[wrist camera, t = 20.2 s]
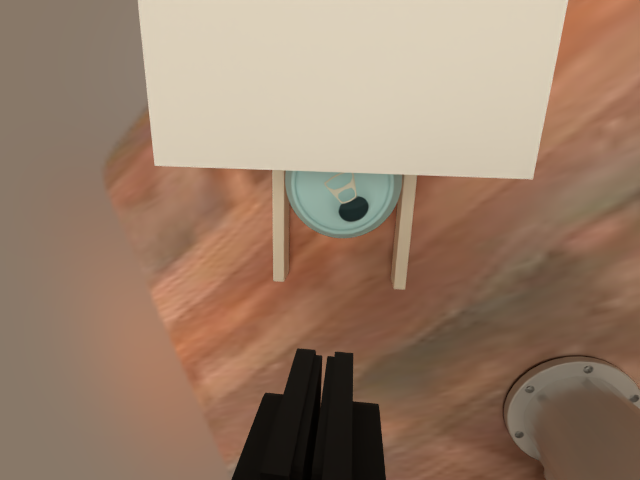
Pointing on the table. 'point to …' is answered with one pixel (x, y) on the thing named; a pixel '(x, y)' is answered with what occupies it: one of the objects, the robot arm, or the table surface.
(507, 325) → the table surface
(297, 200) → the can
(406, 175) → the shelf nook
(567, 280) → the table surface
